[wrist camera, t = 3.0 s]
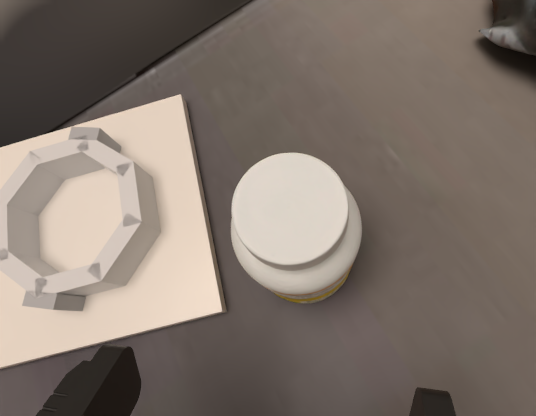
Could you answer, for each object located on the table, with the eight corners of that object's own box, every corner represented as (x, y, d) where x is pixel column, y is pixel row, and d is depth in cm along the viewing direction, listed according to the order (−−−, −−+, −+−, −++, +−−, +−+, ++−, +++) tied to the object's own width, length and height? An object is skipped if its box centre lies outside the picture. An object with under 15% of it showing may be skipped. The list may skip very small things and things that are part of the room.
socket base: (186, 102, 26) (165, 70, 23) (226, 311, 22) (208, 309, 18) (-5, 158, 27) (-51, 135, 24) (-2, 369, 23) (-58, 377, 19)
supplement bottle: (330, 320, 21) (334, 317, 12) (242, 280, 22) (183, 251, 13) (365, 229, 22) (393, 163, 13) (279, 197, 23) (249, 116, 14)
